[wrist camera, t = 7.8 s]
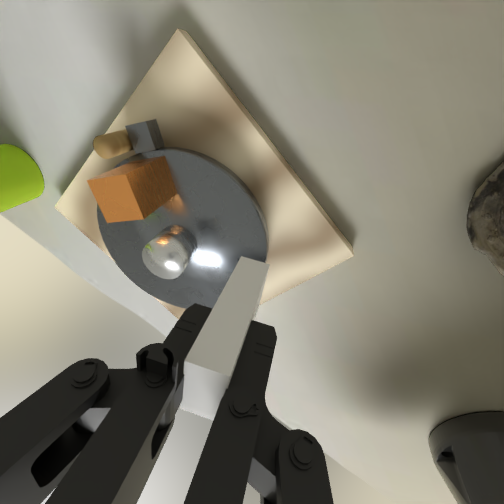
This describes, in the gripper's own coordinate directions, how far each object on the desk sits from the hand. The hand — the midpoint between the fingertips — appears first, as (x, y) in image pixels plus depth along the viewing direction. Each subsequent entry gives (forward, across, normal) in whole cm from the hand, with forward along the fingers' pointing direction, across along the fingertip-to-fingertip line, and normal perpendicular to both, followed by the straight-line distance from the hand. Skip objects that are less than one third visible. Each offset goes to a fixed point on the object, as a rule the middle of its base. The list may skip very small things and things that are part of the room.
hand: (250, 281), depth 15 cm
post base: (+13, +8, +5) cm, 16 cm away
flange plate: (+10, +8, +4) cm, 14 cm away
